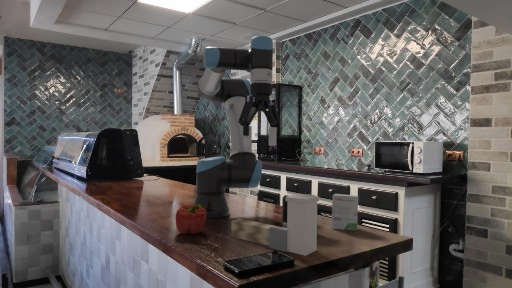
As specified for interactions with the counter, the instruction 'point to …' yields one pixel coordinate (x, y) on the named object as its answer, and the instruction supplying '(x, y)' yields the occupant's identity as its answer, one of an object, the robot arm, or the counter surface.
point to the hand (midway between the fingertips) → (260, 146)
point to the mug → (284, 209)
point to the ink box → (344, 212)
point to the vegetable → (190, 219)
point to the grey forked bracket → (297, 226)
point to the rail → (251, 231)
